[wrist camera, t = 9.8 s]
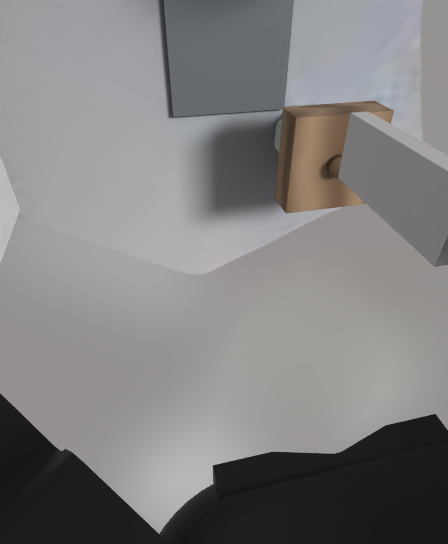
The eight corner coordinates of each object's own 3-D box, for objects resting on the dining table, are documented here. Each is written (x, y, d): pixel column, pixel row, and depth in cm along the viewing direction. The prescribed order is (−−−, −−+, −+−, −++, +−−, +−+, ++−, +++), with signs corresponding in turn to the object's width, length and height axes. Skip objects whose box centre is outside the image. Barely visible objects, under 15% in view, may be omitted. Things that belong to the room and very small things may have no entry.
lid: (275, 198, 49) (288, 217, 45) (282, 107, 42) (300, 120, 39) (354, 189, 51) (374, 207, 47) (374, 100, 44) (399, 113, 40)
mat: (172, 115, 47) (173, 116, 46) (161, -19, 39) (162, -19, 38) (282, 107, 49) (283, 109, 49) (293, -20, 41) (295, -20, 41)
